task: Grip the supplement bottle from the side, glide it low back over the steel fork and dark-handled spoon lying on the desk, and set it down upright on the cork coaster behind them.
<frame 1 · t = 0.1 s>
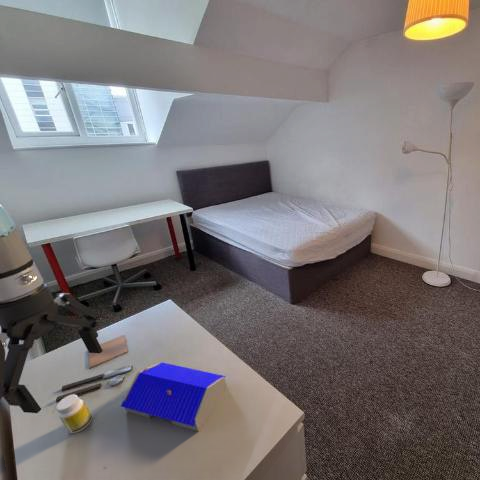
hand: (68, 378, 55), 22 cm above the table, tool pointing down, fingers open, 13 cm apart
roof: (178, 398, 73), on the table
cork coaster: (108, 350, 90), on the table
cutlery: (96, 383, 78), on the table
supplement bottle: (81, 424, 68), on the table
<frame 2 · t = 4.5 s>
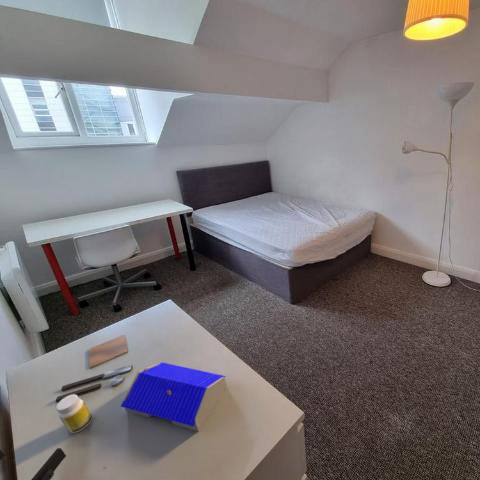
hand: (31, 451, 57), 6 cm above the table, tool horizontal, fingers open, 13 cm apart
nothing on the table moved.
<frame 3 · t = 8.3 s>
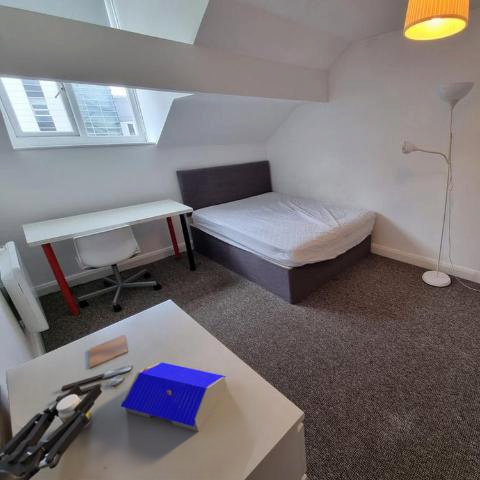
hand: (88, 388, 70), 6 cm above the table, tool horizontal, fingers closed on supplement bottle, 5 cm apart
supplement bottle: (81, 424, 68), on the table, touching gripper
everything else where it was.
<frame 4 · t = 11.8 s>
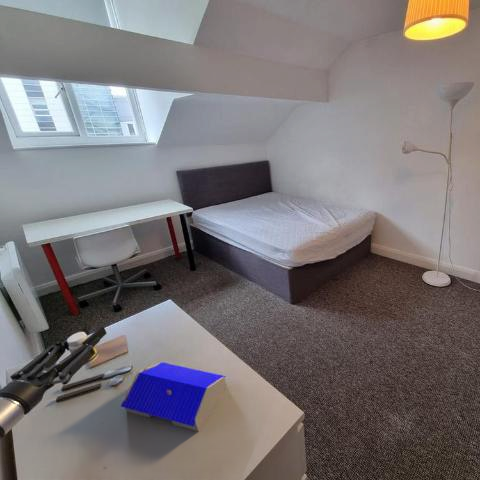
hand: (94, 329, 79), 14 cm above the table, tool horizontal, fingers closed on supplement bottle, 5 cm apart
supplement bottle: (88, 359, 77), point 8 cm above the table, touching gripper
everything else where it was.
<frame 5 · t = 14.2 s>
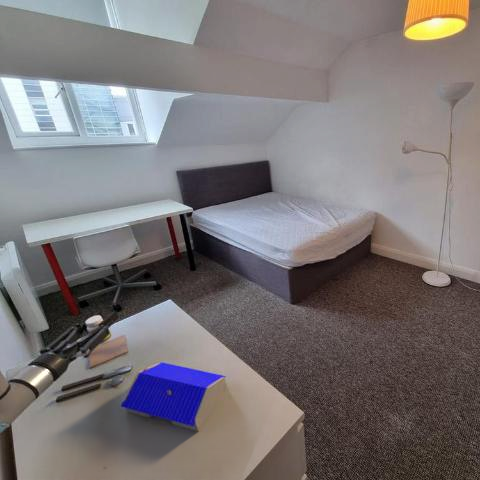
hand: (108, 314, 90), 11 cm above the table, tool horizontal, fingers closed on supplement bottle, 5 cm apart
supplement bottle: (103, 340, 88), point 5 cm above the table, touching gripper
everything else where it was.
when the fingers open (6 cm above the table, at t = 15.8 s): supplement bottle stays where it is, resting on cork coaster.
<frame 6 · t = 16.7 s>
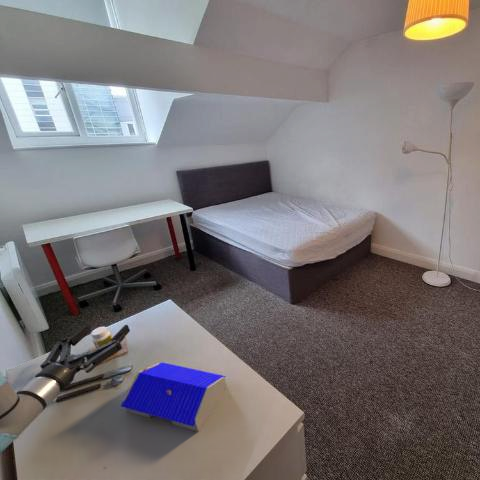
hand: (108, 327, 90), 7 cm above the table, tool horizontal, fingers open, 13 cm apart
supplement bottle: (108, 350, 90), resting on cork coaster
everything else where it was.
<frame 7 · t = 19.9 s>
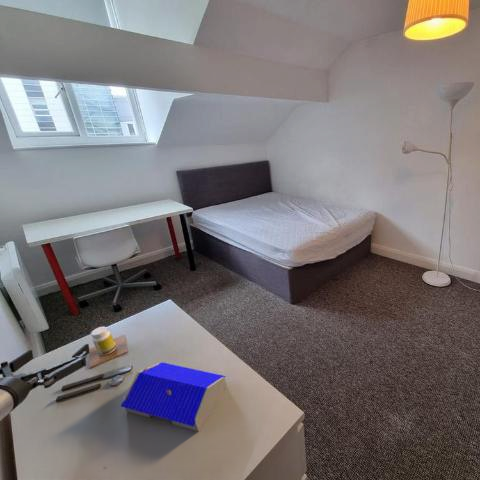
hand: (60, 351, 78), 9 cm above the table, tool tilted 75°, fingers open, 13 cm apart
nothing on the table moved.
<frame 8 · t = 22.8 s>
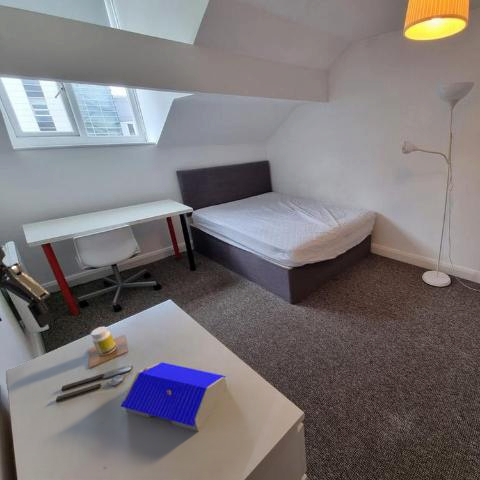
hand: (20, 324, 66), 25 cm above the table, tool pointing down, fingers open, 13 cm apart
nothing on the table moved.
at the end: supplement bottle inside the target area on the cork coaster (0.1 cm from its centre), point 0.2 cm above the cork coaster's base; supplement bottle tilted 0°; the gripper is holding nothing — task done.
